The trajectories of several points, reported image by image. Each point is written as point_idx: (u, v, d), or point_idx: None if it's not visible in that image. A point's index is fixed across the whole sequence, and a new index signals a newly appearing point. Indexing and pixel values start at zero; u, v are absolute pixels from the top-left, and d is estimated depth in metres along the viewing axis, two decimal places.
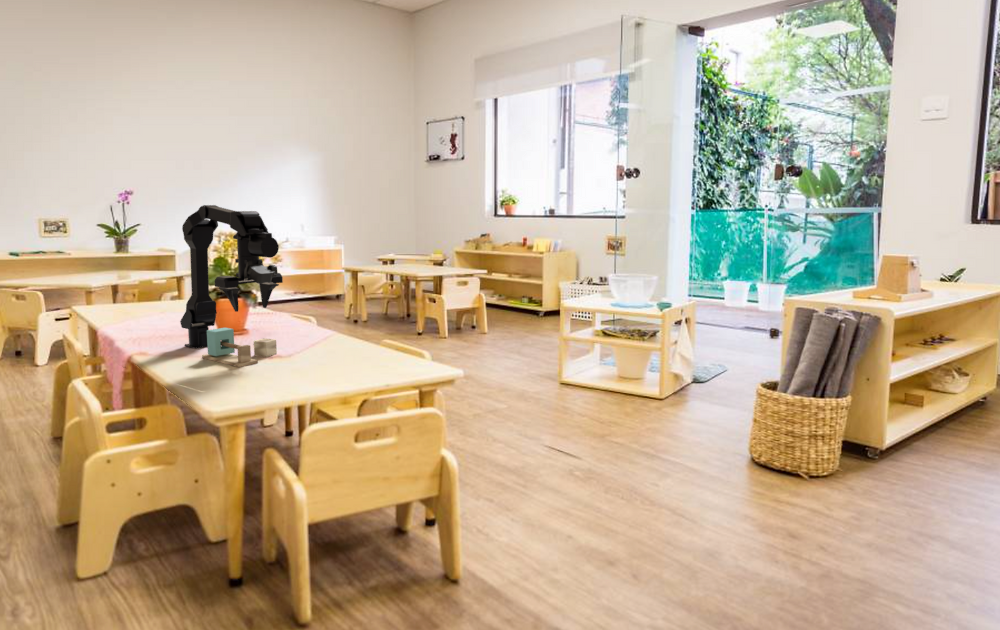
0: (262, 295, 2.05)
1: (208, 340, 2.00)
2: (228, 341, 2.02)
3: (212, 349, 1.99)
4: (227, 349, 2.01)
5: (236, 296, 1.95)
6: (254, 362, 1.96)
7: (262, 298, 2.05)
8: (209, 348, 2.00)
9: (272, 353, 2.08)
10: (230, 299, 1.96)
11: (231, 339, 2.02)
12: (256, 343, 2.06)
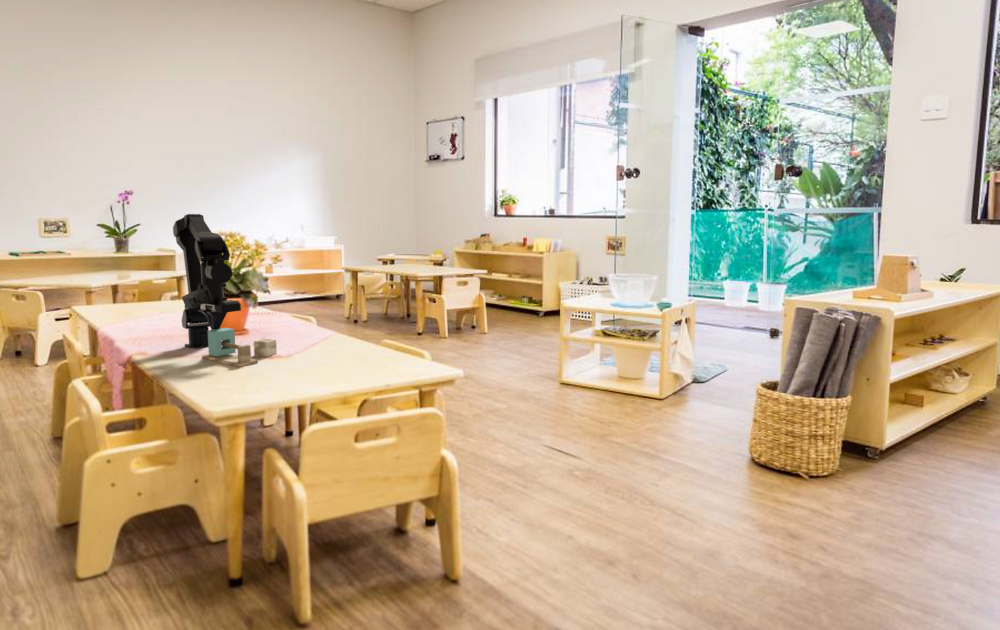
0: None
1: (209, 341, 2.00)
2: (229, 341, 2.02)
3: (213, 349, 1.99)
4: (228, 349, 2.01)
5: (208, 318, 2.01)
6: (254, 362, 1.96)
7: None
8: (210, 348, 2.00)
9: (272, 353, 2.08)
10: None
11: (232, 339, 2.02)
12: (256, 343, 2.06)
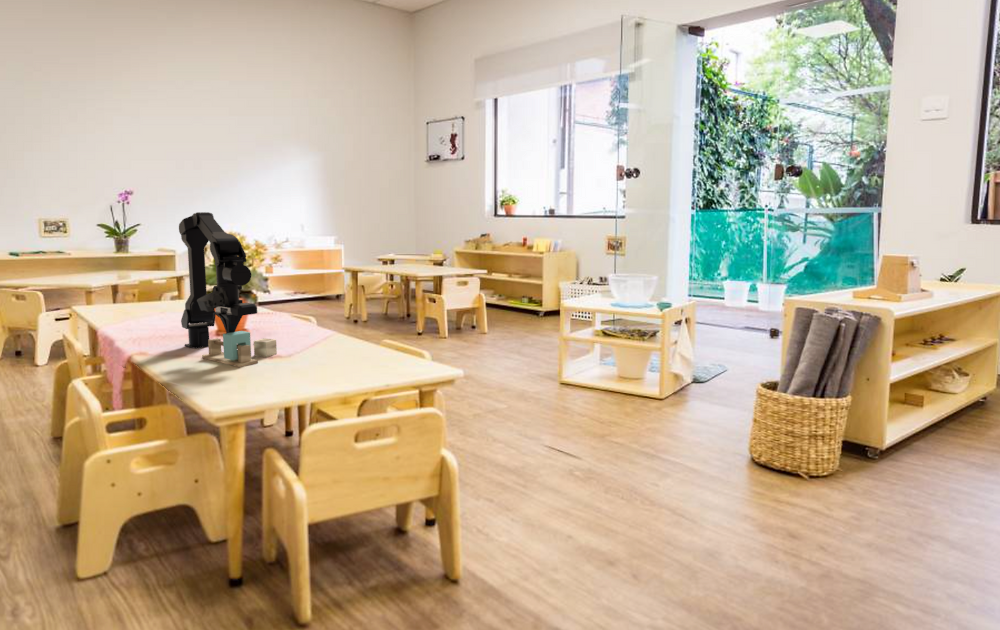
0: None
1: (224, 344, 1.95)
2: None
3: (228, 353, 1.95)
4: None
5: (223, 321, 1.97)
6: (254, 362, 1.96)
7: None
8: (225, 352, 1.96)
9: (272, 353, 2.08)
10: None
11: (248, 343, 1.98)
12: (256, 343, 2.06)
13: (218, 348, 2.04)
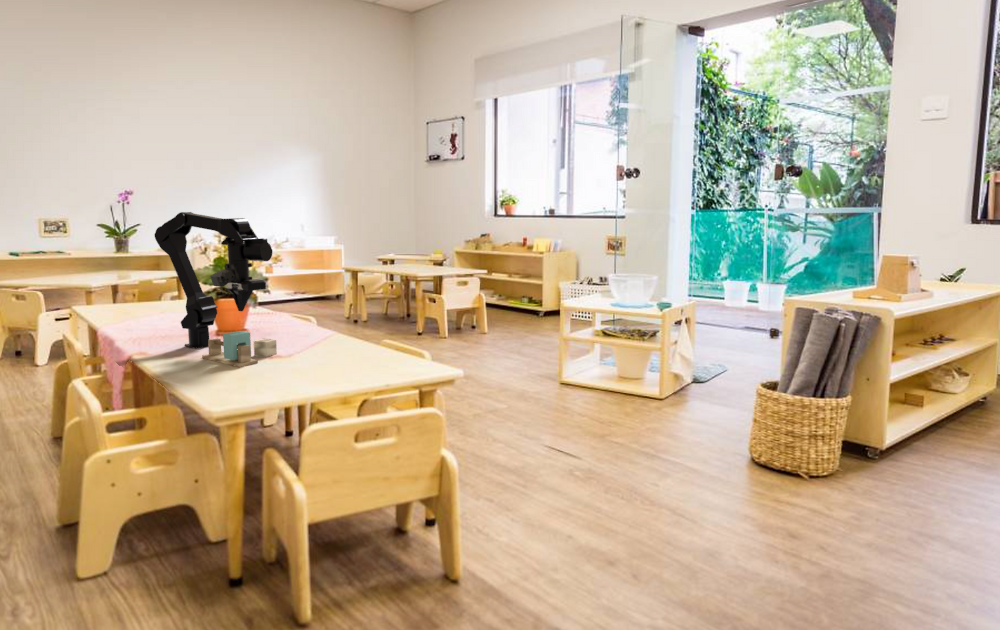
0: None
1: (224, 344, 1.95)
2: None
3: (228, 353, 1.95)
4: None
5: (234, 296, 2.11)
6: (254, 362, 1.96)
7: None
8: (225, 352, 1.96)
9: (272, 353, 2.08)
10: None
11: (248, 343, 1.98)
12: (256, 343, 2.06)
13: (218, 348, 2.04)
